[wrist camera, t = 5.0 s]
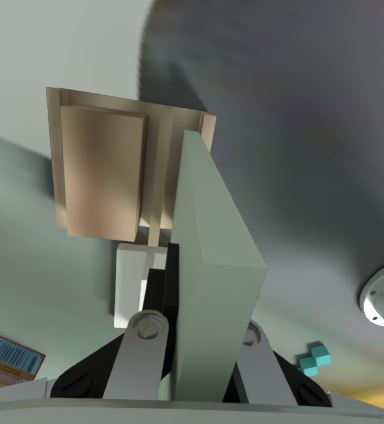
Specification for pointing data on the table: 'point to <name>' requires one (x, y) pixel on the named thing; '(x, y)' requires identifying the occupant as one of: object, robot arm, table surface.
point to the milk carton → (18, 363)
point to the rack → (155, 151)
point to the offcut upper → (102, 171)
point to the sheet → (209, 279)
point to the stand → (134, 278)
